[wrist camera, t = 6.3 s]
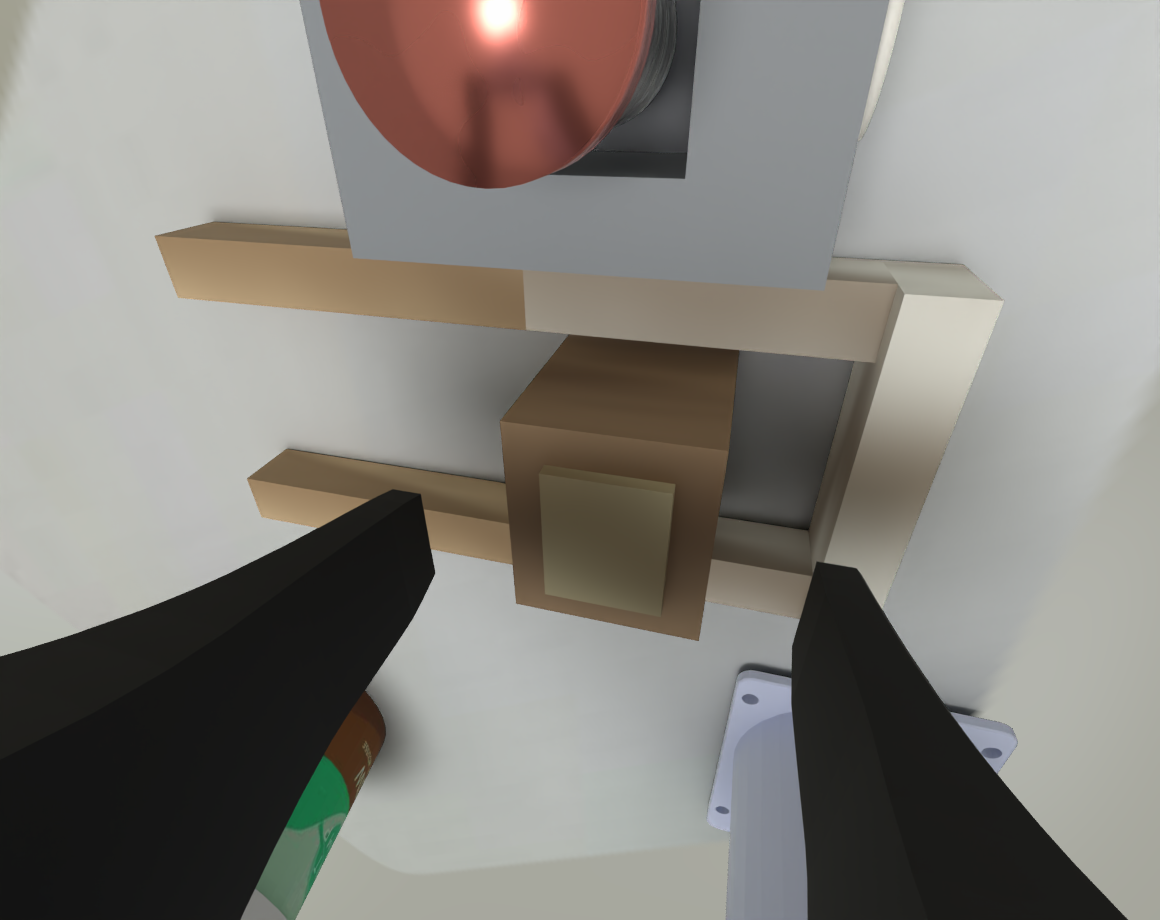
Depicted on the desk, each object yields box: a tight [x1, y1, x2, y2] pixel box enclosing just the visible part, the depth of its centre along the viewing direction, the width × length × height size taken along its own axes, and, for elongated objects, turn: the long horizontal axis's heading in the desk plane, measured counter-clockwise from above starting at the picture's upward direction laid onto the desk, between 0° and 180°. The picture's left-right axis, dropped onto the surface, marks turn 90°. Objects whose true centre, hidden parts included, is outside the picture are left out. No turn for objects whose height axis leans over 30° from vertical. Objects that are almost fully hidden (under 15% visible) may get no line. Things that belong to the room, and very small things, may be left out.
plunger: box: [319, 0, 677, 189], centre depth 7 cm, size 3×3×5 cm
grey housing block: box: [300, 0, 905, 291], centre depth 9 cm, size 6×8×4 cm
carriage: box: [500, 334, 739, 641], centre depth 13 cm, size 5×4×5 cm
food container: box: [241, 691, 386, 920], centre depth 24 cm, size 12×6×10 cm, turn 165°
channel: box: [155, 222, 1004, 619], centre depth 15 cm, size 9×18×2 cm, turn 90°
